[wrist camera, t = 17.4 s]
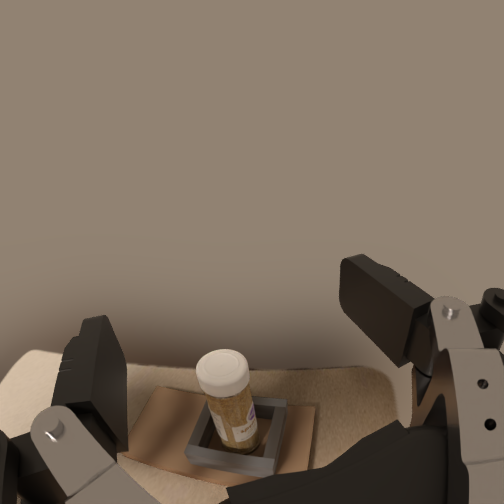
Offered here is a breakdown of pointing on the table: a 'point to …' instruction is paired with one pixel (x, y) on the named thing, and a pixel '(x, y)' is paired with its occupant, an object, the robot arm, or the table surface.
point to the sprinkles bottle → (229, 399)
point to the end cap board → (219, 439)
